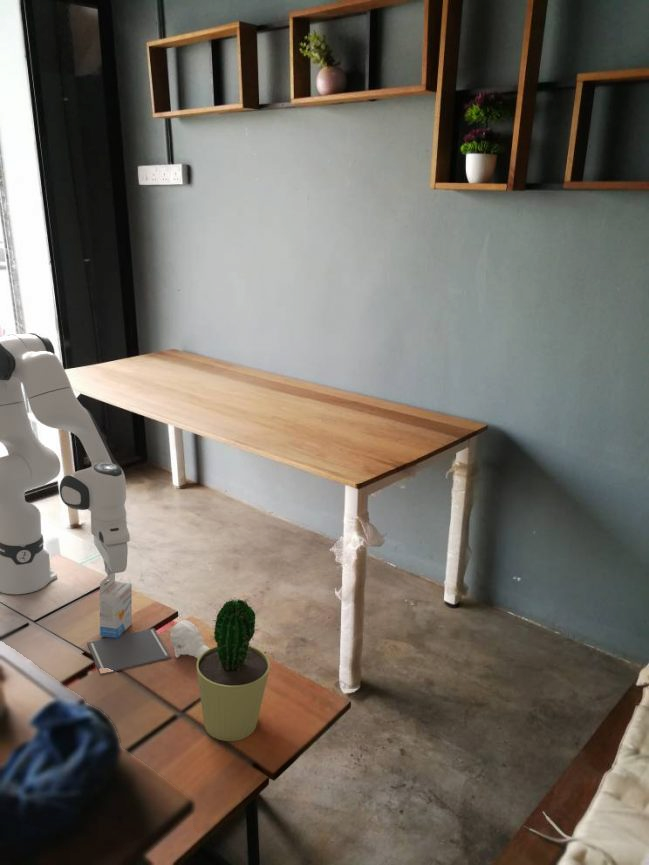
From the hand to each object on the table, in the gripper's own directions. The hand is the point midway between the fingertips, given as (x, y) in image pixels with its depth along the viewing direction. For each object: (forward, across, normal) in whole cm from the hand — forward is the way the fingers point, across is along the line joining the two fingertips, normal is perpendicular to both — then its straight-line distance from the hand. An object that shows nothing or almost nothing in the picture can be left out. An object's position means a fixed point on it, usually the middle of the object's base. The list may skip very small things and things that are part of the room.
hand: (109, 573), depth 182 cm
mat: (+13, +17, 0) cm, 22 cm away
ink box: (+13, +7, 0) cm, 15 cm away
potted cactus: (+14, +52, +13) cm, 56 cm away
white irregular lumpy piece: (+14, +26, +14) cm, 33 cm away
